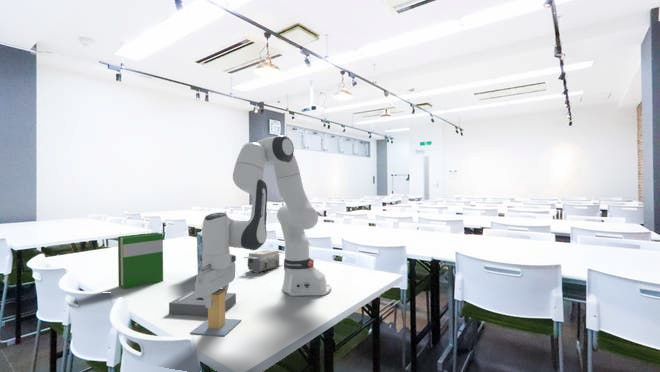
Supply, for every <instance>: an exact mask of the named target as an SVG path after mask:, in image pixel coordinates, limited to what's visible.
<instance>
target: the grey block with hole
mask: <svg viewBox="0 0 660 372" xmlns="http://www.w3.org/2000/svg"><path fill="white" fill-rule="evenodd" d="M236 303H237V295H236V293H234V292H233V293H232V292H227V296H226V297H225V312H226V311H228V310H230V308H232V307H233V306H235V304H236ZM168 314H169V315H171V314H172V315H186V316H187V315H188V316H200V317H208V308H206V307H205V301H204V299H203V298H198V297H196V295H195V290H190V291H189V292H186V293H184V294H182V295H181V296H180V297H177V298H175V299H174V300H172V301H170V302H168Z"/></svg>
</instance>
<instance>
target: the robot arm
mask: <svg viewBox="0 0 660 372" xmlns="http://www.w3.org/2000/svg"><path fill="white" fill-rule="evenodd" d="M294 151H295V147H294V143H293V141H292V140H291V139H290V138H289V136H287V135H275V136H269V137H265V138H262V139H260V140H256V141H252V142H247V143H245V144H244V145H243V146H242V147H241V149H240V151H239V153H238V156H237V159H236V160H235V163H234V168H233V173H232V181H233V182H234V185H235V186H236V187H237V188H238V189H240V190H242V191H244V192H245V193H247V194H249V195H251V198H252V200H251V213H250V214H251V215H250V219H249V220H246V221H245V220H235V219H234V218H233V219H232V218H230V217H229V216H228V214H227V213H226V212H213V213H210V214H207V215H205V217H204V218H203V222H202V227H201V232H202V243H203V251H202V268H201V269H200V271H199V272H198V271H197V274H196V278H195V284H194V291H195V295H196V297H198V298H203V299H204V301H205V307H206V308H210V307H212V306H213V301H211V299H210V297H211V294H212V293H214V292H216V291H217V290H219V289H225V297H226V296H227V293H228V289H229V284H231V283H232V282H233V281H234V280H235V277H236V261H237V256H236V255H235V254H231V252H230V248H235V249H236V248H237V249H245V250H249V251H257V250H258V249H260V248H261V247H262V246H263V245H264V244H265V242H266V240H267V224H266V222H267V210H268V209H267V208H268V207H267V205H268V204H267V203H268V186H267V184H266V182H265V181H264V179H263V175H264V168H265V166H266V165H272V166H273V168H274V175H275V176H274V177H275V181H276V185H277V188H278V189H277V190H278V194H279V196H280V197H281V198H282V201H284V203H285V204H284V205H282V206H281V207H279V208H278V210H277V212H276V218H277V220H278V222H279V224H280V226H281V231H282V235H283V240H284V253H285V254H284V259H283V269H284V275H283V276H284V277H283V284H282V288H281V291H282V292H284V293H286V294H288V295H289V296H291V297H293V296H295V297H298V296H299V297H300V296H303V297H304V296H325V295H327V294H329V293H330V292H331V290H332V286H331V284H330V283H327V279H326V276H325V274H324V273H323V272H321V271H320V270H319V269H318V268H316V267H315V266H314V262H315V260H314V258H311V257H310V242H309V239H308V237H307V235H306V234H305V230H311V229H312V228H314V227H315V226H316V225H317V224H318V221H319V215H318V211H317V210H316V209H315V208H314V207H313V206H312V204H311V202H310V200H309V199H308V196H307V194H306V192H305V189H304V186H303V182H302V177H301V172H300V168H299V165H298V162H297V159H296V157H295V154H294Z"/></svg>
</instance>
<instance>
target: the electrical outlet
mask: <svg viewBox="0 0 660 372" xmlns="http://www.w3.org/2000/svg"><path fill="white" fill-rule="evenodd" d="M280 254H283V251H279V250H277V249H262V250H258V251H257V250H256V251H253V252H249V253H248V256H243V259H247V269H248V270H249V271H251V272H252V273H261V272H263V271H267V270H270V269H273V268H277V267H280Z"/></svg>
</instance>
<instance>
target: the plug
mask: <svg viewBox="0 0 660 372" xmlns="http://www.w3.org/2000/svg"><path fill="white" fill-rule="evenodd" d="M210 299H211V301H213V306H212V307H210V308H208V316H207V320H208V328H216V329H220V328H221V327H222V326H223V325H224V324H225V319H226V311H225V289H222V288H220V289H219V290H217V291H216V292H214V293H212V294H211V297H210Z"/></svg>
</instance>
